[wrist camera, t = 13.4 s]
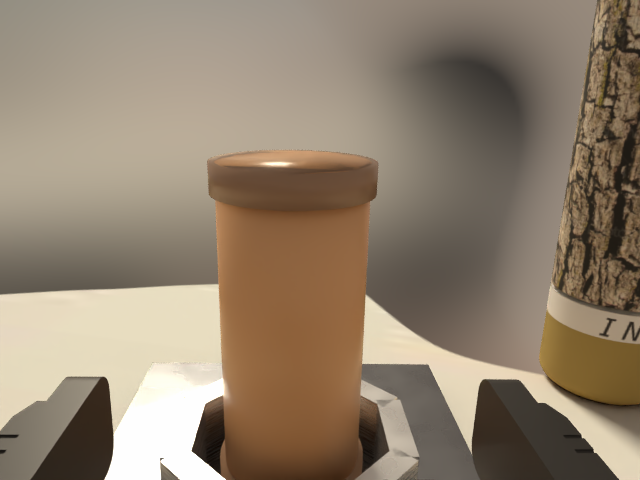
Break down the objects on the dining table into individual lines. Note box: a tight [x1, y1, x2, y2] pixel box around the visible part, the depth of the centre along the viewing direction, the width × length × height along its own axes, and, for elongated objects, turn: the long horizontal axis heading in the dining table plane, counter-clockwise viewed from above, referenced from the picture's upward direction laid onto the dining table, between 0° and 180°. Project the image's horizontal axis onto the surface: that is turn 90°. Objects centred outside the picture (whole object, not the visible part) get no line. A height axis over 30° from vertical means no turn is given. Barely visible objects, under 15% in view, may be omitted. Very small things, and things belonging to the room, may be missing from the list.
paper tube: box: [539, 0, 640, 405], centre depth 29 cm, size 7×7×25 cm
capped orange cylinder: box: [207, 150, 378, 480], centre depth 18 cm, size 5×5×13 cm
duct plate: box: [105, 363, 480, 480], centre depth 20 cm, size 16×20×4 cm
